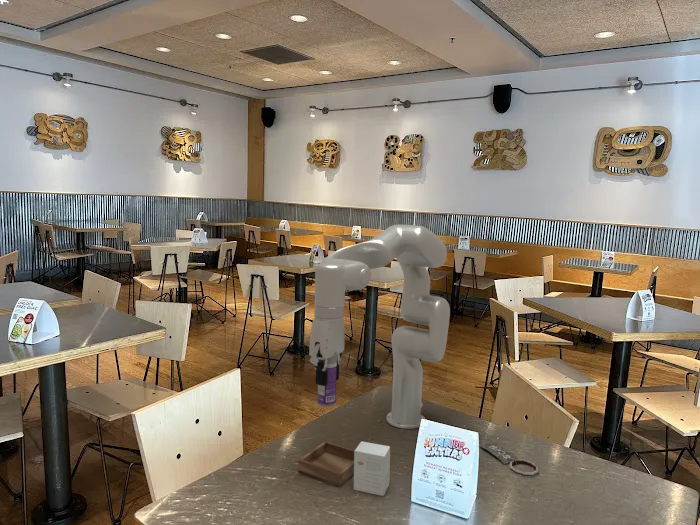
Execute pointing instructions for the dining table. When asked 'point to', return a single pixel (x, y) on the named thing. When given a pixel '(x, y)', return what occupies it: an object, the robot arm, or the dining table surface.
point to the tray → (328, 464)
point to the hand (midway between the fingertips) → (327, 381)
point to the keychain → (510, 459)
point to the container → (329, 384)
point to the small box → (371, 468)
